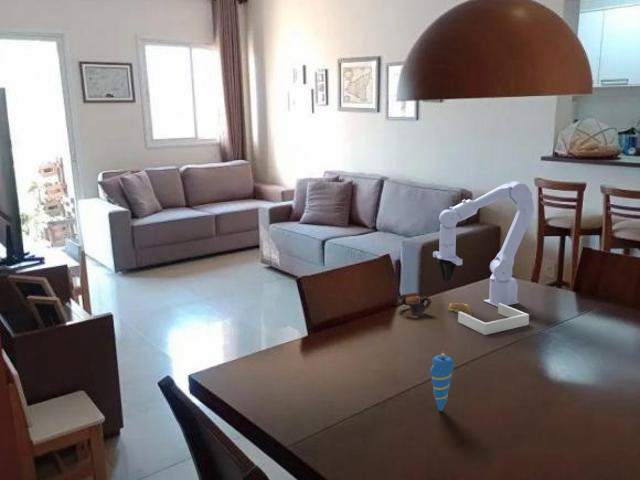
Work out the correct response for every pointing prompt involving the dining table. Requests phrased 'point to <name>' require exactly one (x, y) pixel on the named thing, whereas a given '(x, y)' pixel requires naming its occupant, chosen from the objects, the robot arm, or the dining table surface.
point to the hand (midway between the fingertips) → (446, 280)
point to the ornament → (441, 378)
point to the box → (513, 320)
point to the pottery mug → (414, 303)
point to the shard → (460, 308)
